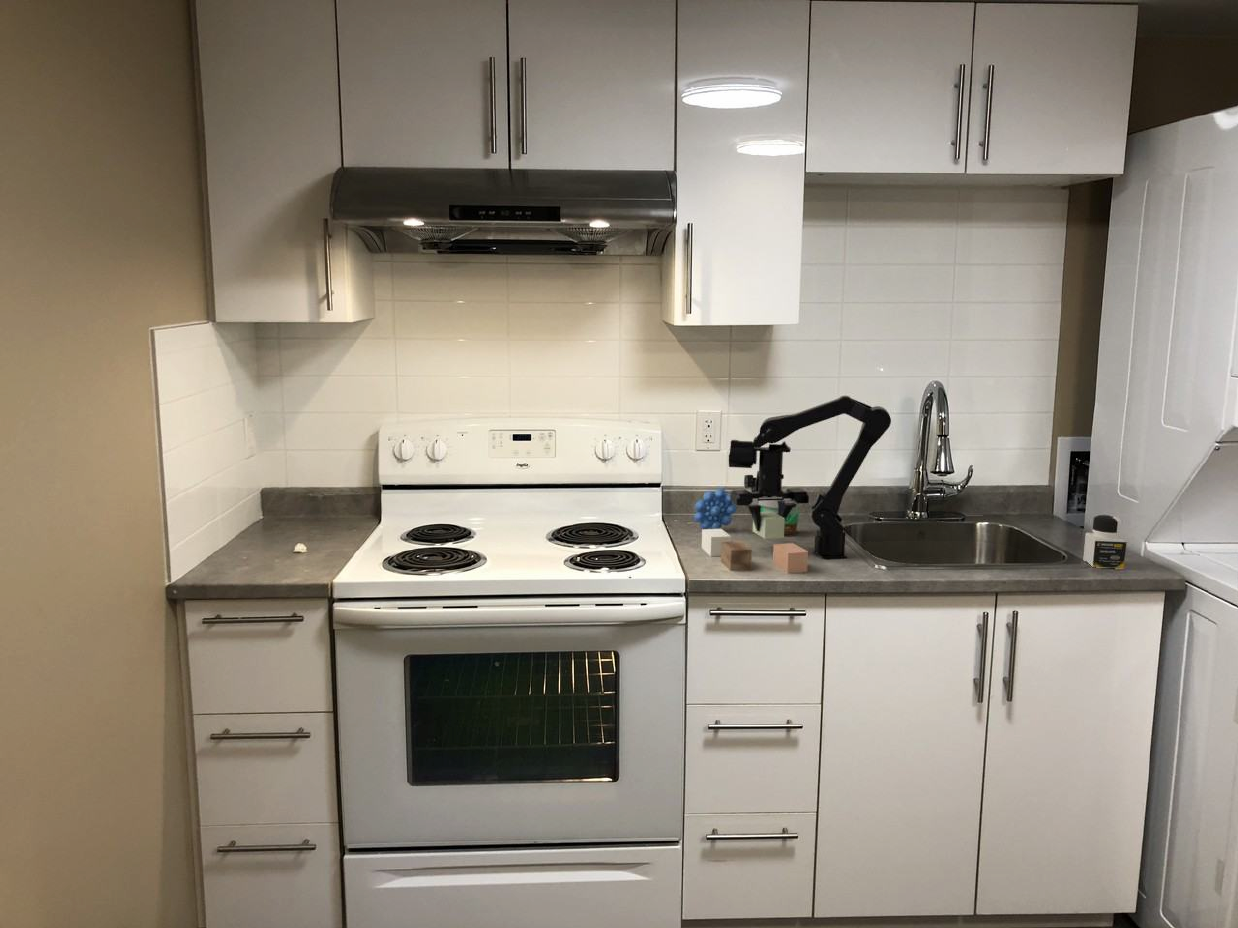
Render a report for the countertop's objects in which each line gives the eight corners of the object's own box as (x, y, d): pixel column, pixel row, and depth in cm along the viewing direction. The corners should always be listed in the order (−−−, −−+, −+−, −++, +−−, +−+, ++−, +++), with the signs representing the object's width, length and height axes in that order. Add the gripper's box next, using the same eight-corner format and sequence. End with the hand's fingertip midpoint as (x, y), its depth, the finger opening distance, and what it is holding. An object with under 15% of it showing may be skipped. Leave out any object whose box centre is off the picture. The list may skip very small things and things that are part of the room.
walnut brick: (740, 561, 238) (741, 541, 237) (751, 570, 230) (751, 549, 229) (720, 562, 237) (721, 541, 236) (730, 571, 229) (731, 550, 228)
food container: (766, 538, 259) (767, 501, 257) (757, 533, 265) (758, 496, 263) (809, 536, 262) (810, 499, 261) (798, 530, 268) (800, 494, 266)
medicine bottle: (1092, 568, 234) (1097, 519, 232) (1082, 560, 241) (1087, 512, 239) (1124, 569, 233) (1129, 520, 231) (1113, 561, 240) (1118, 513, 238)
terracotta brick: (791, 563, 236) (792, 543, 235) (807, 572, 229) (808, 551, 228) (772, 564, 235) (773, 544, 234) (787, 573, 227) (788, 553, 226)
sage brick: (771, 530, 250) (771, 511, 249) (783, 537, 242) (784, 518, 241) (752, 531, 249) (753, 512, 248) (764, 538, 241) (765, 519, 240)
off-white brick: (720, 547, 250) (721, 528, 249) (730, 555, 242) (730, 536, 241) (701, 548, 249) (702, 529, 248) (710, 556, 241) (711, 537, 240)
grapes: (734, 528, 270) (735, 485, 268) (737, 534, 264) (738, 490, 262) (692, 527, 270) (693, 484, 268) (694, 533, 264) (695, 489, 262)
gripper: (794, 462, 252) (791, 521, 255) (724, 464, 249) (722, 524, 251) (811, 470, 241) (808, 532, 244) (738, 472, 238) (736, 534, 240)
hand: (768, 530), depth 245 cm, fingers closed on sage brick, 5 cm apart
